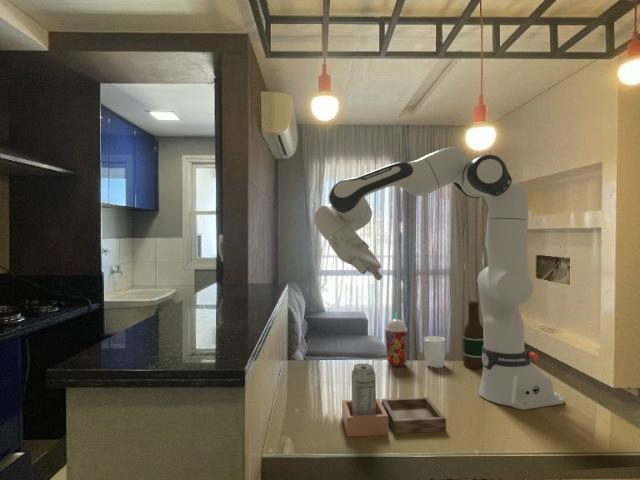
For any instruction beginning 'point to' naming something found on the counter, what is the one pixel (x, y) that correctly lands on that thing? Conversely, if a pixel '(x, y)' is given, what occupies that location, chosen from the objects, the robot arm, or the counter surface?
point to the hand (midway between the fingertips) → (372, 275)
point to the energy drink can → (363, 390)
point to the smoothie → (396, 342)
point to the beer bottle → (473, 339)
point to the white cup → (434, 351)
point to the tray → (413, 415)
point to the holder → (364, 421)
